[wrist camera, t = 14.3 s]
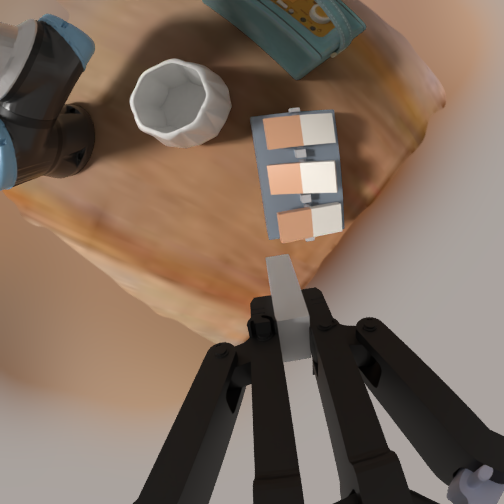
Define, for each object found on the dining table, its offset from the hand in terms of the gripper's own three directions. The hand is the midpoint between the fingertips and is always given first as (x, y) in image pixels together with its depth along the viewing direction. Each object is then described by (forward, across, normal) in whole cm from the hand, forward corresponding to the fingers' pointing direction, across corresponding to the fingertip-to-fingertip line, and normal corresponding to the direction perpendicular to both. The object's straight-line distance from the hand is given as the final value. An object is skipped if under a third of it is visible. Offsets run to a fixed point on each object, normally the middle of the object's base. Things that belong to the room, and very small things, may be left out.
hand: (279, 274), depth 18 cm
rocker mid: (+25, +7, +2) cm, 26 cm away
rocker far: (+25, +7, -5) cm, 26 cm away
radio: (+33, +7, +31) cm, 46 cm away
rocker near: (+25, +7, +9) cm, 27 cm away
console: (+32, +7, +2) cm, 33 cm away
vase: (+33, -9, +16) cm, 37 cm away
